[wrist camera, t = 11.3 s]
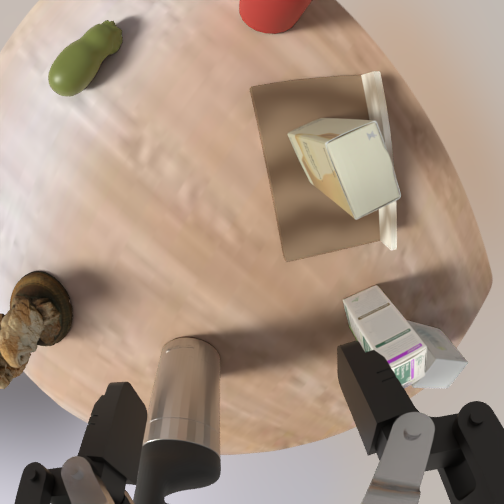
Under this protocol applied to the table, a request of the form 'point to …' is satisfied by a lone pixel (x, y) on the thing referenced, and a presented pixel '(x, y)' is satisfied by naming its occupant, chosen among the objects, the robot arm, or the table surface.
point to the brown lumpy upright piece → (32, 322)
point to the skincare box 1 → (347, 163)
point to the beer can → (272, 14)
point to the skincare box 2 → (438, 358)
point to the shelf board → (293, 175)
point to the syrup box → (386, 333)
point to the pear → (84, 59)
